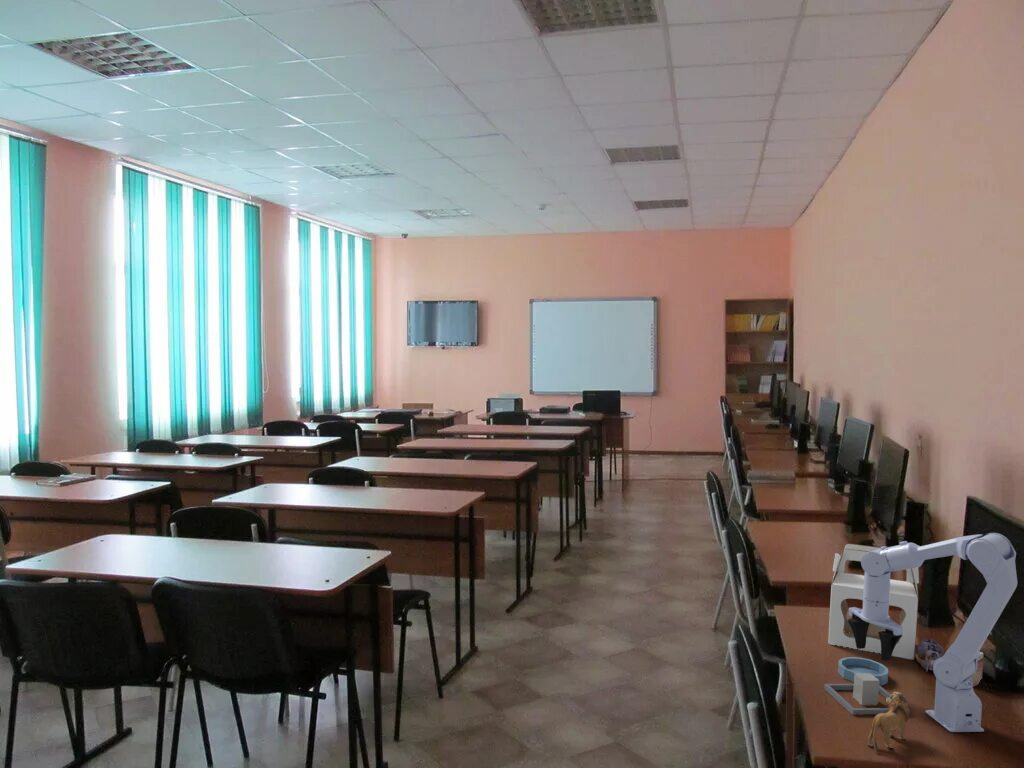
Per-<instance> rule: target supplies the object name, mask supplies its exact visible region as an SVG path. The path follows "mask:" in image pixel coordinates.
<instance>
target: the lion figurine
mask: <svg viewBox="0 0 1024 768" xmlns="http://www.w3.org/2000/svg"><path fill="white" fill-rule="evenodd" d="M890 694H891V695H890V697H888V698H885V701H886V704H887V705H888V708H889V709H888V712H887V713H880V714H877V715H874V717H873V718H874V719H873V720H872V721H873V722H872V725H871V730H870V733H869V734H868V736H867V740H868V741H867V746H868V745H874V746H873V750H874V751H875V752H877V751H878V744H877V733H878V730H879V729H881V732H882V734H883V737H884V738H883V743H884V744H885V746H886V748H887V747H893V748H894V746H893V745H892V744H890V742H889V741H890V737H891V736H890V735H893V731H894V730H895V729H897V728H899V732H898V739H899V738H900V739H899V740H901V739H905V740H906V738H905V736H904V735H905V734H904V733H905V729H906V723H908V721H909V716H910V710H909V709H910V708H909V701H908V699H907V698H906V695H904V693H902V692H900V691H894V692H892V693H890Z"/></svg>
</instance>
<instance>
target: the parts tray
mask: <svg viewBox="0 0 1024 768" xmlns="http://www.w3.org/2000/svg"><path fill="white" fill-rule="evenodd" d="M853 688H854V683H824V687H823V689H824V690H825V691H826V693H828V694H829V695H830V696H832V698H833V699H835V700H836V701H837V703H839V704H840V705H842V707H843V708H844V707H845V708H846V709H845V710H847V712H849V713H850V714H851V715H852V716H857V715H856V714H861V715H860V716H864V715H863V714H880V713H887V712H888V709H889V707H868V708H867V707H860V708H857V707H854V706H852V705H851V703H849V702H848V701H847V700H846V699H845V698H844V697H843V696H841V695H840V693H838V692H837V691H853ZM879 692H880V693H881V694H880V693H879V694H880V695H881V696H883V697H884V698H885V699H886V698H888V697H890V695H891V694H892V693H890V692H889V691H887V690H886V689H885V688H884V687H882V685H881V686H880V685H879ZM908 709H909V711H910V710H911V709H910V708H908Z"/></svg>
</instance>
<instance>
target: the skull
mask: <svg viewBox="0 0 1024 768" xmlns="http://www.w3.org/2000/svg"><path fill="white" fill-rule="evenodd" d="M945 653H946V652H945V650H944V647H943V646H942V645H940V644H939V643H938V642H937V641H936V640H934V639H932V638H926V639H924V640H922V641H920V642H919V644H918V646H916V647H915V655H914V658H916V661H917V662H918V663H919V664H920V666H921V667H922V668H923V669H924V670H926V672H928V670H930V671H933V665H934V662H935V661H936V660H937V659H938V658H940V657H942V656H944V655H945Z"/></svg>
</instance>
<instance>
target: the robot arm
mask: <svg viewBox="0 0 1024 768" xmlns="http://www.w3.org/2000/svg"><path fill="white" fill-rule="evenodd" d="M880 548H881V549H877V550H874V551H870V552H868V553H866V554H865V555H864V556H863V557H862V559H861V561H860V564H861V568H862V570H863V571H864V575H865V576H864V592H863V600H862V608H859V607H856V606H853V607H848V616H850V618H847V620H848V623H849V624H850V626H851V629H852V631H853V634H854V638H855V642H856V647H857V648H858V649H862V648H865V645H866V637H867V631H868V627H869V624H870V623H871V624H873V625H876V626H878V627H880V628H883V629H885V631H881V632H878V634H879V637H880V642H881V654H880V658H881V661H883V662H886V661H890V660H891V658H892V656H891V655H892V652H893V650H894V648H895V646H896V644H897V642H898V641H899V640H900V638H901V637H902V634H903V627H902V626H900V624H898V622H897V623H896V622H895V621H894V620H892V619H891V616H890V615H889V609H890V605H889V593H890V579H891V573H892V572H898V571H899V572H900V571H905V570H906V569H911V568H916V567H918V568H920V567H921V566H922V565H923V564H924V562H925V561H926V560H932V559H933V560H934V559H937V558H945V557H950V556H957V557H959V558H961V559H962V560H964V561H966V560H968V559H969V561H970V562H971V564H972V565H973V566H974V567H975V568H976V569H977V570H978V571H979V572H980V573H981V574H982V575H983V578H984V579H985V583H986V586H985V588H984V589H983V591H982V593H981V594H980V596H979V598H978V600H977V602H976V604H975V605H974V607H973V609H972V610H971V612H970V614H969V616H968V617H967V619H966V621H965V622H964V623H963V625H962V628H961V630H960V631H959V633H958V635H957V636H956V638H955V640H954V642H953V643H952V644H951V645H950V646H949V647H948V649H947V650H946V652H944V653H945V655H944V656H942V657H940V658H938V659H937V660H936V661H935V662H934V665H933V669H932V671H933V674H934V676H935V678H936V679H935V691H934V692H935V694H934V709H927V710H926V709H925V713H926V714H927V715H928V716H930V718H932V719H933V720H935V721H936V722H937V723H939V724H940V725H941V726H943V727H944V729H946V730H947V731H949V732H950V733H972V732H973V733H976V732H977V733H978V732H979V733H982V732H985V729H984V728H983V727H982V725H981V723H982V711H983V710H982V709H983V703H982V701H981V699H980V697H978V695H977V694H976V693H975V691H974V687H973V683H972V679H971V676H972V675H973V674H974V673H975V672H976V670H977V659H978V657H979V655H980V652H981V651H980V650H981V649H982V647H983V645H984V644H985V642H986V641H987V638H988V637H989V635H990V633H991V631H992V630H993V629H994V626H995V625H996V623H997V621H998V619H999V618H1000V617H1001V614H1002V613H1003V611H1004V609H1005V608H1006V606H1007V604H1008V603H1009V601H1010V599H1011V597H1012V596H1013V594H1014V593H1015V590H1016V589H1017V586H1018V576H1017V569H1016V568H1017V567H1016V557H1017V556H1016V555H1017V552H1016V550H1015V548H1014V546H1013V545H1012V543H1011V541H1010V540H1009V538H1007V537H1006V536H1004V535H1003V534H1001V533H998V532H989V533H986V534H985V535H984V534H971V535H965V536H959V537H954V538H951V539H946V540H941V541H938V542H932V543H930V544H925V545H921V546H920V545H918V544H916V543H914V542H908V541H907V540H904V541H900V542H899V544H898V545H893V546H886V545H884V546H881V547H880Z"/></svg>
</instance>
